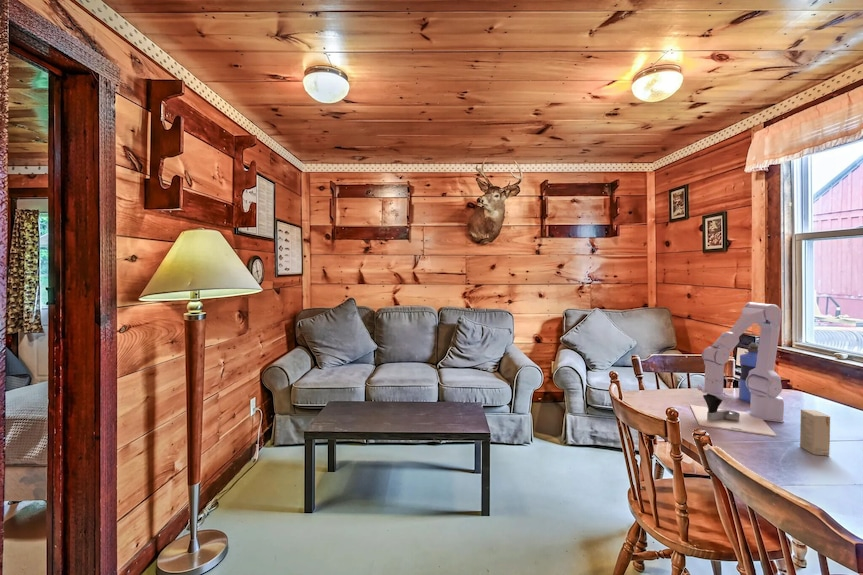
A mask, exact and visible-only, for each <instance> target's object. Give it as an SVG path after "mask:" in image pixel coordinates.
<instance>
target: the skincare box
mask: <svg viewBox="0 0 863 575" xmlns="http://www.w3.org/2000/svg"><path fill="white" fill-rule="evenodd" d="M799 430H800V432H799V434H800V435H799V447H800V448H802V449H804V450H805V451H807V452H808V453H811V454H813V455H816V456H817V455H818V456H819V455H820V456H830V449H831V447H830V446H831V445H830V444H831V443H830V442H831V438H830V437H831V416H829V415H828V414H825V413H823V412H820V411H819V410H816V409H815V410H814V409H800V425H799Z"/></svg>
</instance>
